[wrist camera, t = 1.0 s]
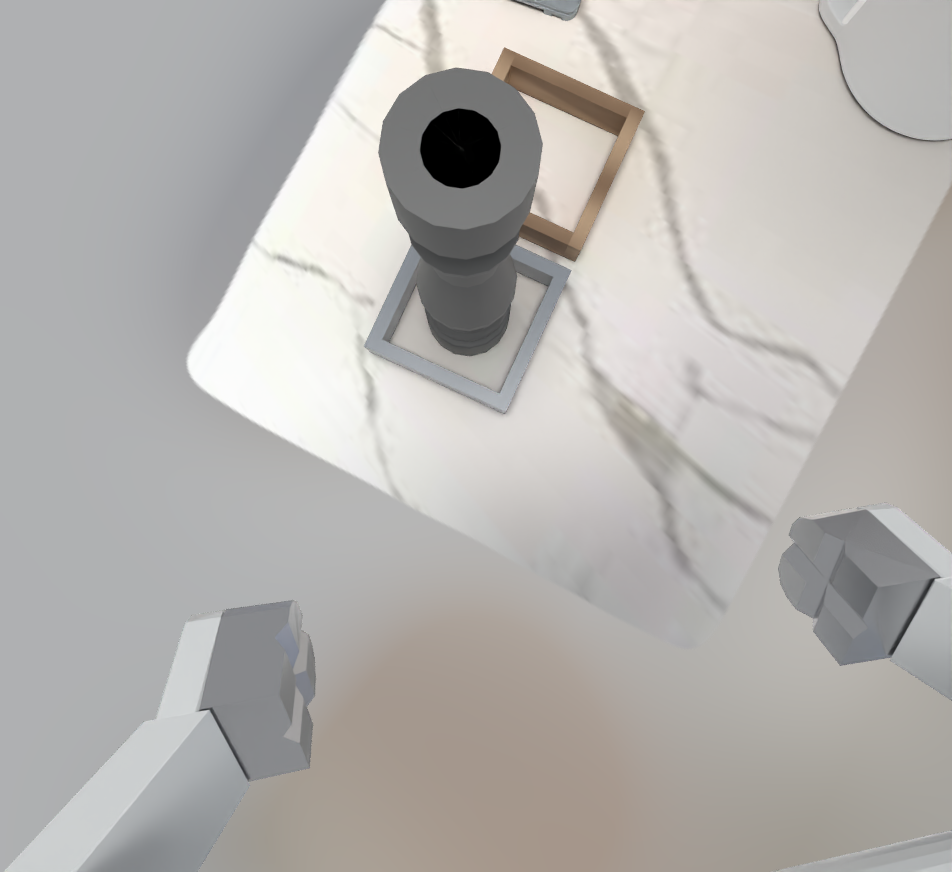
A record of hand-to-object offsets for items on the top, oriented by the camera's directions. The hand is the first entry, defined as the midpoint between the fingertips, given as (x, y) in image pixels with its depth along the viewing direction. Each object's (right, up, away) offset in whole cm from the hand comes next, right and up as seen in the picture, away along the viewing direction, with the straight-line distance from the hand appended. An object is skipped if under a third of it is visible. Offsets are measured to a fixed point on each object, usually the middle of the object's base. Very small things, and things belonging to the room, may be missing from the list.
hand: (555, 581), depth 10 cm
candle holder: (-2, +12, +36) cm, 38 cm away
